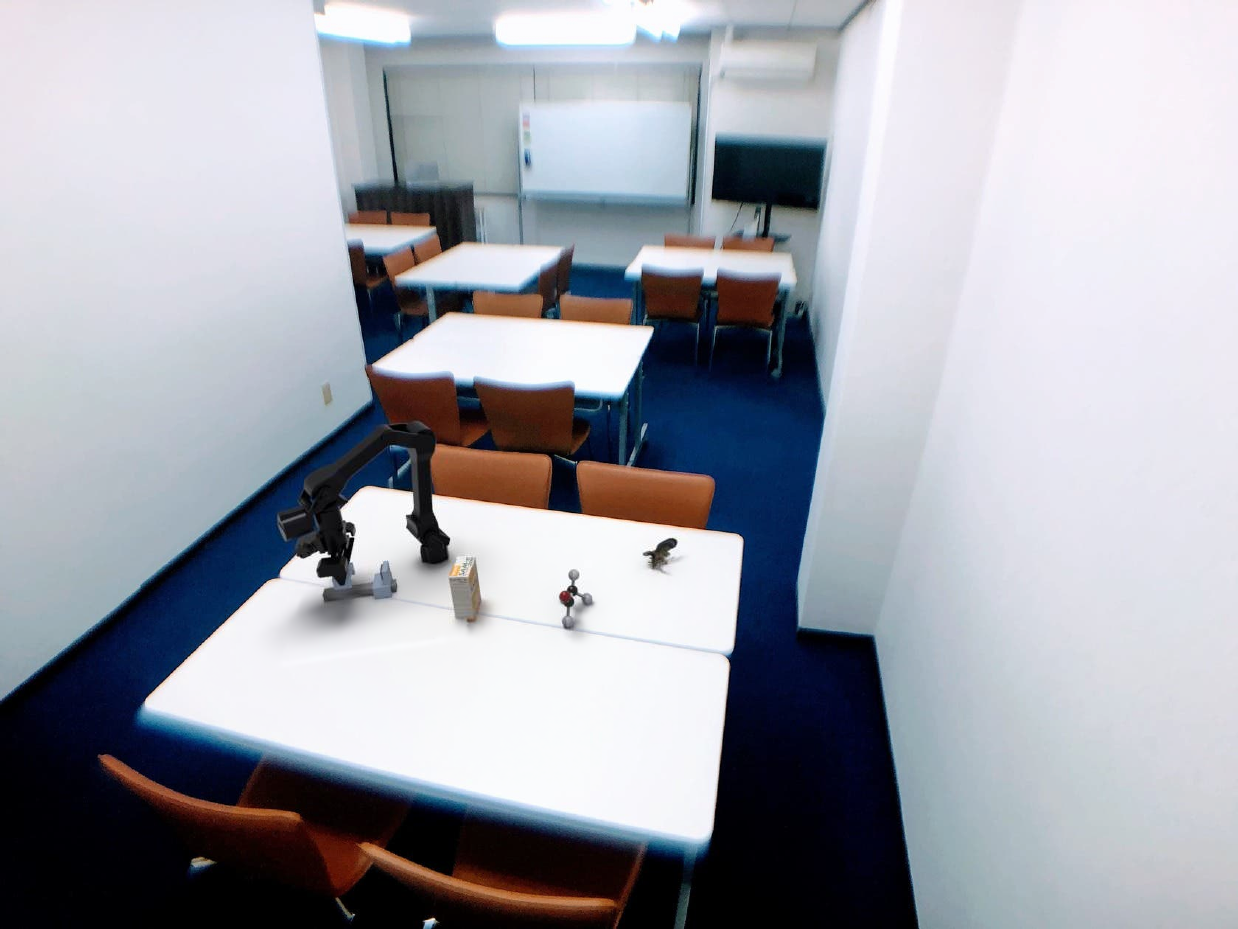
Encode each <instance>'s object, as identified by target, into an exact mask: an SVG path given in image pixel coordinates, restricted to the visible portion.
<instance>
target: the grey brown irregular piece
mask: <svg viewBox="0 0 1238 929" xmlns="http://www.w3.org/2000/svg"><path fill="white" fill-rule="evenodd" d="M678 543H679V542H678V539H676V538H675V537H669V538H666V539H664V540H663V541H661V542H659V543H658V544H657V546H656V547H655V549H653V550H646V551H644V552H642V556H644V557H648V559H650V560H651V561H649V560H648V562H647V563H648V564H651V565H652V566H651V569H652V570H653V569H654V568H656V567H657V565H658V564H660V563H665V564H666V565H669V564H668V560H667V559H666V558H665V556H664V555H671V552H670V550H673V549H674V548H676V547H677V545H678Z"/></svg>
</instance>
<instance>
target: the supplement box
mask: <svg viewBox="0 0 1238 929" xmlns="http://www.w3.org/2000/svg"><path fill="white" fill-rule="evenodd" d="M478 574H479V573H478V565H477V557H476V556H456V557H455V561H454V563H453V565H452V568H451V570H450V574H449V575H448V581H449V582H448V583H449V587H450V588H449V589H450V595H451V600H452V605H453V611H454V618H455V619H466V621H467V622H475V621H476V617H477V614H478V613H477V612H478V609H479V606H480V604H481V601H482V596H481V590H480V588H481V587H480V580H479V575H478Z"/></svg>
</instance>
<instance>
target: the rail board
mask: <svg viewBox="0 0 1238 929" xmlns="http://www.w3.org/2000/svg"><path fill="white" fill-rule="evenodd" d="M397 583H398V582H397V579H396V578H393V579H392V580H391V593H396V592H397V590H398V584H397ZM352 585H353V586H352V588H347V589H339V590H334V586H332V587H327V588H326V587H325V588H324V589H323V590H322V591H323V592H322V598H323V602H324V603H327V602H332V601H333V602H334V601H341V600H347V599H354V598H362V597H369V596H374V594H373V590H372V587H373V581H371V582H364V583H354V584H352Z"/></svg>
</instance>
